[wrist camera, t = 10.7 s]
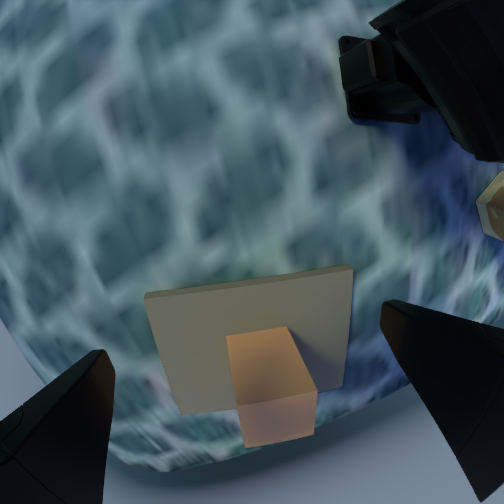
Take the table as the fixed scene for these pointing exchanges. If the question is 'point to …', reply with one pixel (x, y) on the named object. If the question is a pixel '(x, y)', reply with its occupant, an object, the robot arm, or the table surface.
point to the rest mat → (249, 330)
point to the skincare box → (493, 208)
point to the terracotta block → (271, 387)
